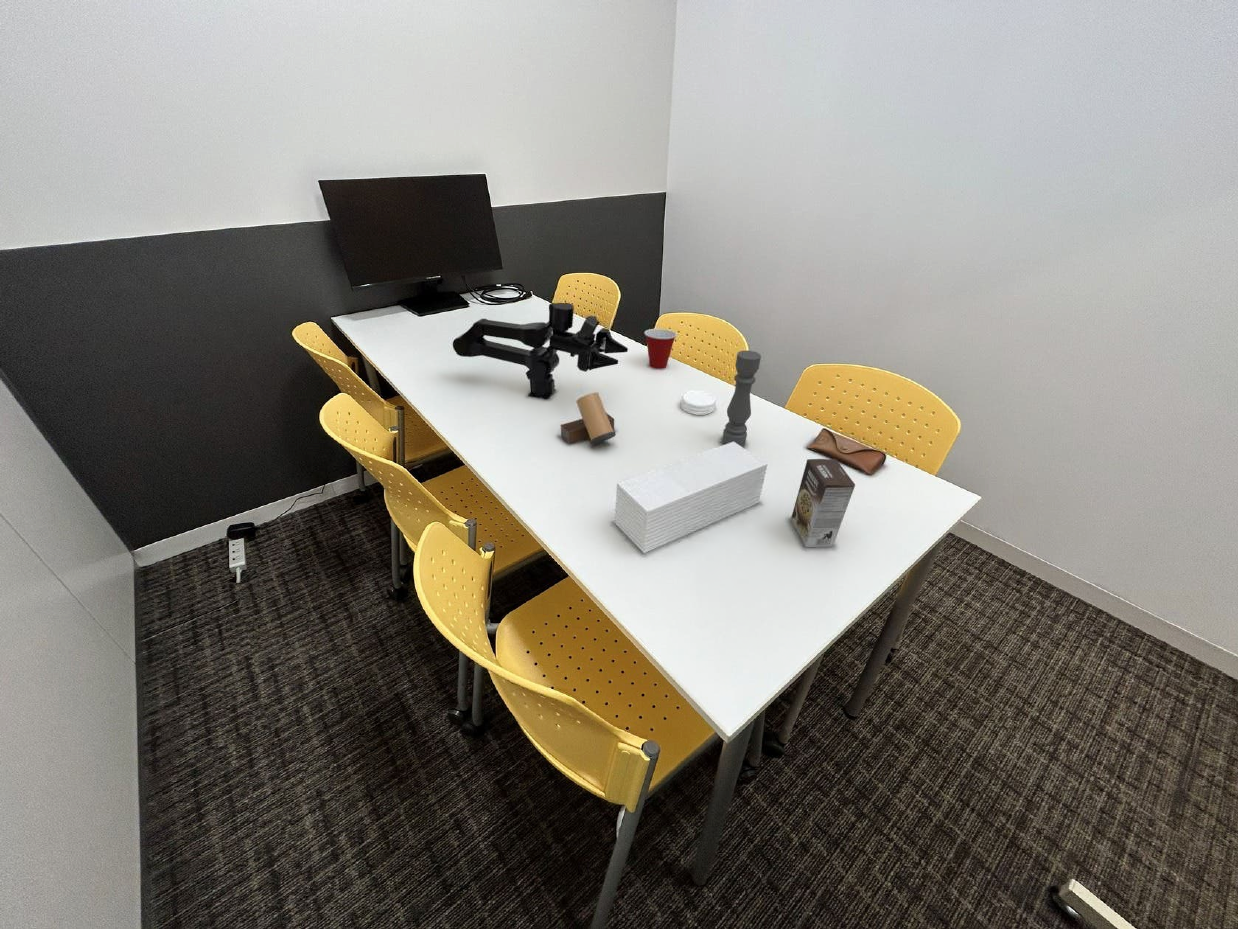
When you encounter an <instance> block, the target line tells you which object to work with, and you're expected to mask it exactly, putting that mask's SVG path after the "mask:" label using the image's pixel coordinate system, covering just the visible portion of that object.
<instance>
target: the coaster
mask: <svg viewBox="0 0 1238 929" xmlns="http://www.w3.org/2000/svg"><path fill="white" fill-rule="evenodd" d="M680 401H681V402H680V407H681V409H682V410H683V411H685V412H686V413H689V414H691V415H695V416H705V415H708V414H711V413H713V412H714V410H715V408H716V407H715V406H716V401H717V400H716V397H715V396H714V395H713V393H710V392H708V391H705V390H699V389H697V390H696V389H693V390H688V391H685V392H684V393H682V395H681V400H680Z"/></svg>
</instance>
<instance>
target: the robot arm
mask: <svg viewBox="0 0 1238 929" xmlns="http://www.w3.org/2000/svg"><path fill="white" fill-rule="evenodd" d="M574 311H575V306H574V305H573V304H572V303H569V302H566V301H565V302H551V303H550V304H548V321H546V322H542V321H541V322H540V321H539V322H529V323H524V324H520V323H513V322H506V321H498V320H491V319H487V318H480V319H478V320H476V321H475V322H473V323H472V326H470V328H468V330H467V331H465V332H464V333H462V334H460V335H459V336H457V337H456V338H455V339H453V341H452V349H453V351H454V352H455V353H456V355H458V356H459V357H463V358H473V357H479V356H480V357H487V358H491V359H496V360H500V361H503V362H508V363H512V364H516V365H520V366H524V367H526V368H527V369H528V370H527V371H526V372H525V375H526V378H527V380H529V390H530V392H529V393H528V397H531V398H536V399H543V400H549V399H550V398H551V397H552V396H553V395H554V393H555V392H556V385H555V383H556V382H555V379H554V374H553V373H552V372H555V369H556V368H557V367H558V366H559V364H560V356H559V355H558V352H563V353H567V354H570V355H569V357H572V358H574V357H576V356H577V365H576V367H577V368H578V370H579V371H581V372H586V373H587V372H588V371H593V370H596V369H600V368H604V367H610V366H616V365H618V364H619V360H618V359H617V358H614V357H613V356H609V355H606V354H618V353H619V354H620V353H622V354H623V353H627V352H628V351H629V348H628V347H627V346H625V345H623V344H622V343H620V342H618V340H616V339H614V338H613V337H612V333H611V331H610V328H605V327H602V328H601V329H599V330H598V331H597V332H596V333H595V331H596V329H597V328H598V326H599V325H600V322H601V321H599V320H598V318H597V316H595V315H588V316H586V317H585V320H584V321H583V323H582V326H581V328H580V330H578V331H576V332H570V331H569V329H571V328H573V327H574V326H573V324H574ZM485 337H492V338H498V339H499V338H500V339H506V340H514V341H517V342H520V343H522V344H523V345H525V346H527V347H530V348H532V349H526V348H521V347H516V346H514V345H513V346H512V345H509V344H505V343H500V342H496V341H492V340H488V339H486V338H485ZM548 342H549V344H548V346H544V345H545V344H546V343H548Z"/></svg>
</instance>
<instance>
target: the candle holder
mask: <svg viewBox="0 0 1238 929" xmlns="http://www.w3.org/2000/svg"><path fill="white" fill-rule="evenodd" d="M735 359H736V360H735V370H736V374H735V375H734V377H733V380H734V381H735V388H734V393H733V395H732V397H731V400H730V402H729V404H728V406H727V409H726V415H727V418H728V422H727V423H726V424H725V425H724V429H723V431H722V438H721V444H722V445H725V444H728V443H731V442H735V443H737V444H738V445H740V446H741V447H743V448H744V447H745V446H746V442H747V439H748V438H747V437H748V432H747V431H748V426H747V425H746V423H747V421H748V420H749V419H750V417H751V416H752V407H751V405H752V404H751V391H752V386H753V384H755V382H756V380H757V379H756V377H755V375H756V374H757V373H758V371H759V369H760V366H761V365H760V364H761V359H762V355H761V354H760V353H759V352H756V351H754V350H746V349H745V350H740V351H738V352H737V354H736V358H735Z"/></svg>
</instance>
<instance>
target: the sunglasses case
mask: <svg viewBox="0 0 1238 929" xmlns="http://www.w3.org/2000/svg"><path fill="white" fill-rule="evenodd" d="M806 448H807V449H808V450H812V451H815V452H818V453H819V454H822V455H824V456H826V457H829V458H830V459H836V460H837V461H838V462H839V463H841V464H844V465H846V466H848V467H849V468H853V469H854V470H857V471H860V472H863V473H865V474H868V475H874V474H875V473H877V472H878V471H879V470H880V469H882V468H883V467H884V464H885V463H886V460H887V454H886V453H885V452H884V451H882V450H878V449H875V448H872V447H870V446H868V445H866V444H863V443H861V442H858V441H857V440H853V439H851V438H850V437H846V436H844V435H841V434H839V433H837V432H834V431H831V430H830V429H828V428H825V427H823V428H821V430H820V431H819V433H818V434H817V436H816V437H815V438H814V439H813V441H812V442H811V443H810V444H809V445H808V446H807V447H806Z"/></svg>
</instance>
